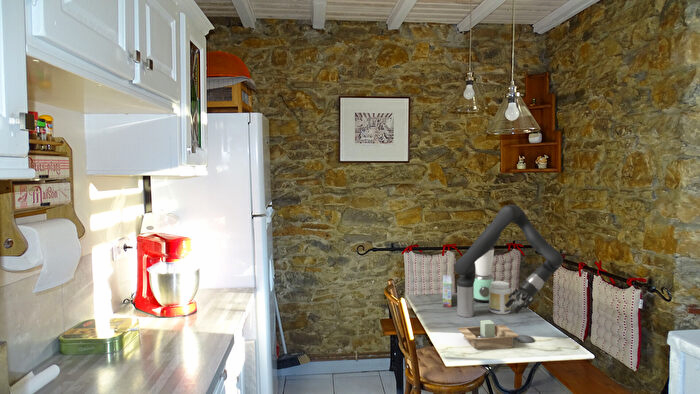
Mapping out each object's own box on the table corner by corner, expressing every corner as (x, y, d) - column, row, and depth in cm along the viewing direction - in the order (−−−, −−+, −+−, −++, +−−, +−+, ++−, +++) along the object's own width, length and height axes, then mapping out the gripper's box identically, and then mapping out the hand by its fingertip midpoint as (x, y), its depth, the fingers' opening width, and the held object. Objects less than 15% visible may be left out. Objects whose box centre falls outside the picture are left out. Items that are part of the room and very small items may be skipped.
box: (480, 340, 214) (480, 320, 214) (490, 339, 215) (490, 319, 214) (484, 344, 209) (484, 324, 209) (494, 343, 210) (494, 323, 209)
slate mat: (511, 336, 218) (511, 335, 218) (527, 335, 219) (527, 334, 219) (520, 343, 209) (520, 342, 209) (537, 342, 211) (537, 341, 211)
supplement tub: (507, 308, 262) (507, 280, 261) (513, 314, 250) (513, 285, 249) (486, 308, 264) (486, 280, 263) (491, 314, 252) (491, 285, 251)
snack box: (452, 307, 266) (452, 283, 265) (442, 307, 267) (442, 283, 266) (451, 297, 287) (451, 275, 286) (442, 297, 288) (442, 274, 287)
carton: (457, 337, 218) (457, 327, 218) (503, 334, 221) (503, 324, 221) (469, 350, 203) (469, 339, 203) (519, 346, 206) (519, 336, 206)
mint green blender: (496, 304, 270) (496, 248, 268) (474, 304, 272) (474, 248, 270) (491, 295, 289) (491, 243, 286) (470, 295, 291) (470, 243, 288)
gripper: (519, 276, 220) (498, 300, 219) (535, 283, 206) (512, 308, 205) (529, 286, 221) (508, 309, 220) (545, 294, 207) (523, 319, 206)
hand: (510, 309), depth 213 cm, fingers open, 8 cm apart
